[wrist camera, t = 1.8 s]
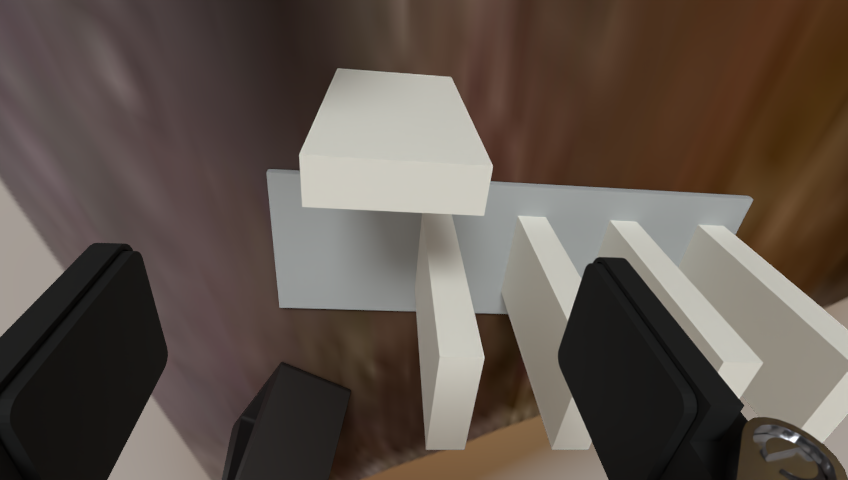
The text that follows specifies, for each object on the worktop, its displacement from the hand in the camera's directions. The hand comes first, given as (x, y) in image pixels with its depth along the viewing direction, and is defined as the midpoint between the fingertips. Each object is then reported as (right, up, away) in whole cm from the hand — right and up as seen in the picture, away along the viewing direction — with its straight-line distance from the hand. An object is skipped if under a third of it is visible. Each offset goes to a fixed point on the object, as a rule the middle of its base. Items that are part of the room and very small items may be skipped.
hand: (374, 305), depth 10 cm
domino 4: (+14, 0, +21) cm, 25 cm away
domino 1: (-1, +10, +15) cm, 18 cm away
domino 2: (+2, +1, +20) cm, 20 cm away
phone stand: (-10, -12, +28) cm, 32 cm away
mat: (+7, +1, +21) cm, 22 cm away
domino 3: (+8, 0, +21) cm, 22 cm away
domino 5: (+20, 0, +22) cm, 29 cm away
